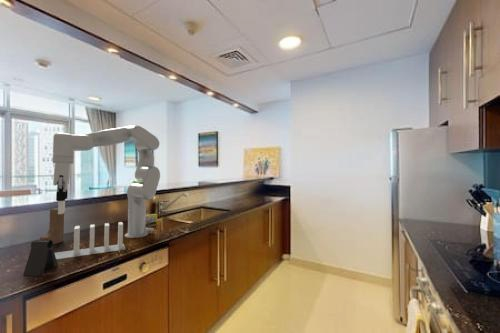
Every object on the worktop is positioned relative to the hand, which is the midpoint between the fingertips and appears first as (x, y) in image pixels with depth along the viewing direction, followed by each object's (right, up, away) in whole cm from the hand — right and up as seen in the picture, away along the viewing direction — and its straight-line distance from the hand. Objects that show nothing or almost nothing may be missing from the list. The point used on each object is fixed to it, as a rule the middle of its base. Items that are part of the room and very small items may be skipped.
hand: (61, 199), depth 109 cm
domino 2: (+5, -25, +3) cm, 26 cm away
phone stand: (+5, -26, -16) cm, 31 cm away
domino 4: (+15, -26, +9) cm, 31 cm away
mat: (+9, -26, +5) cm, 28 cm away
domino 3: (+10, -26, +6) cm, 28 cm away
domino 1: (0, -6, 0) cm, 6 cm away
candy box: (+14, -27, +56) cm, 63 cm away
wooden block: (-18, -26, +17) cm, 36 cm away
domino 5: (+20, -26, +12) cm, 35 cm away
